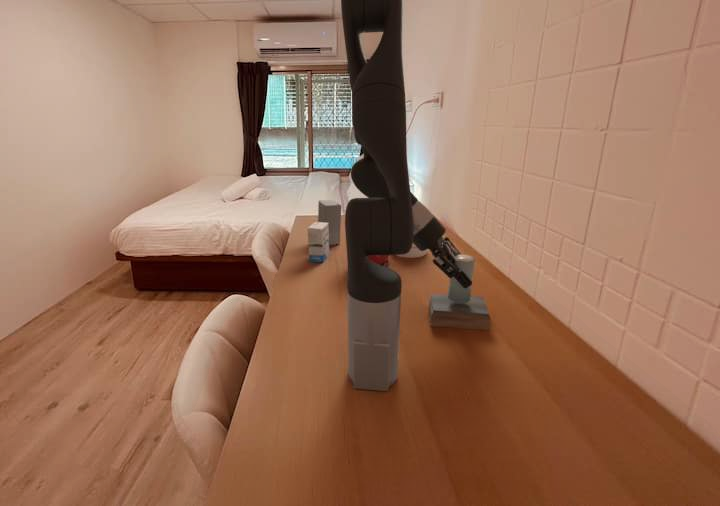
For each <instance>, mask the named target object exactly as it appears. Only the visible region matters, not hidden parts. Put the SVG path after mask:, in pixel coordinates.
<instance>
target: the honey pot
mask: <svg viewBox="0 0 720 506" xmlns="http://www.w3.org/2000/svg"><path fill="white" fill-rule="evenodd" d="M427 251H428V249H426V250H425V251H420V250H419V249H418V248H417V247H416V246H415V245H414V243H413V244H412V247H411V250H410V251H409V252H408V253H407V254H402V255H395V256H397V257H401V258H407V259H408V258H411V259H412V258H413V259H414V258H421V257H423V256H425V255H426V254H427Z"/></svg>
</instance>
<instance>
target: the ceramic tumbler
mask: <svg viewBox="0 0 720 506" xmlns="http://www.w3.org/2000/svg"><path fill="white" fill-rule="evenodd" d="M454 256H455V258H456V259H457V264H458V265H459V267H460V268H461V270H462V271H463V272H464V273H465V274H466V275H467V276H468V277H469V278H470V280H471V281H472V282H473V277H474V270H475V261H476V259H475V257H474V256H472V255H469V254H463V253H461V254H458V255H454ZM450 269H451V270H453V269H452V268H451V267H450ZM448 283H449V285H448V294H447V295H448V298H449V299H450V300H451V301H453V302H457V303H466V302H469V301H470V296H472V286H473V284H472V285H471V286H469V287H468V288H463V286H462V285H461V284H460V283H459V282H458V281H457V280H456V279H455V277H452V278H449V282H448Z"/></svg>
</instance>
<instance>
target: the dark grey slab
mask: <svg viewBox="0 0 720 506" xmlns="http://www.w3.org/2000/svg"><path fill="white" fill-rule="evenodd" d="M428 302H429V303H428V312H429V314H428V315H429V322H430V323H429V324H430V327H435V328H436V327H437V328H451V329H453V328H454V329H465V330H479V331H481V330H482V331H489V330H490V325H491V318H492V317H491V314H490V312H489V309H488V306H487V304H486V302H485V299H484V296H475V295H471V296H470V301H469V302H466V303H457V302H453V301H451V300H450V299H449V298H448V294H439V293H431V294H430V295H429V301H428Z"/></svg>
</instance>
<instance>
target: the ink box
mask: <svg viewBox="0 0 720 506" xmlns="http://www.w3.org/2000/svg"><path fill="white" fill-rule="evenodd" d="M307 240H308V241H307V242H308V258H309V259H308V261H309V263H320V264H321V263H324V262H325V261H326V260H327V258H328V257H329V256H330V246H329V229H328V223H324V222H318V221H314V222H312V224H311V225H309V226H308V227H307Z"/></svg>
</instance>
